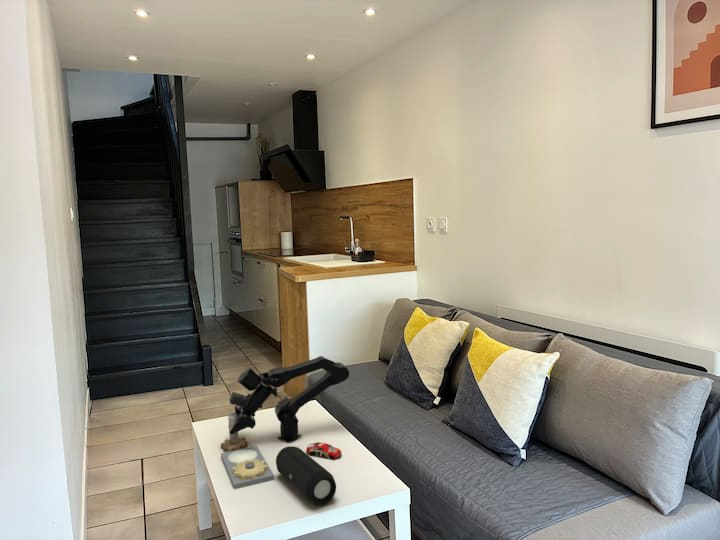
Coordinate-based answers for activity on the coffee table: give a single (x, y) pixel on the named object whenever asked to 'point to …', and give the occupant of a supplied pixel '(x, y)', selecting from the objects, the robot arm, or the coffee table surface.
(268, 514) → the coffee table surface
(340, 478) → the coffee table surface
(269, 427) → the coffee table surface
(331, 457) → the race car
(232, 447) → the walnut gear
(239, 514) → the coffee table surface
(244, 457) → the gear board
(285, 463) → the portable speaker
